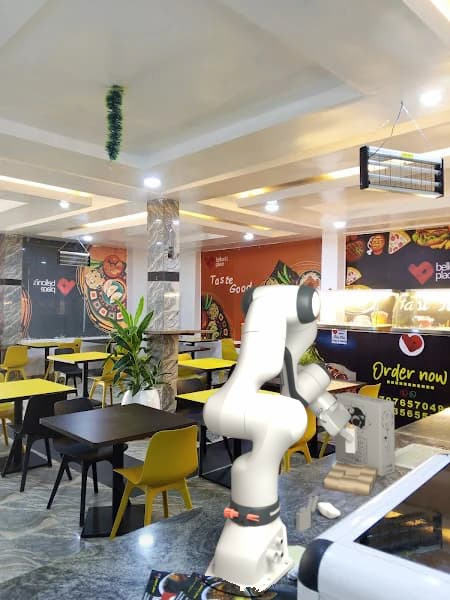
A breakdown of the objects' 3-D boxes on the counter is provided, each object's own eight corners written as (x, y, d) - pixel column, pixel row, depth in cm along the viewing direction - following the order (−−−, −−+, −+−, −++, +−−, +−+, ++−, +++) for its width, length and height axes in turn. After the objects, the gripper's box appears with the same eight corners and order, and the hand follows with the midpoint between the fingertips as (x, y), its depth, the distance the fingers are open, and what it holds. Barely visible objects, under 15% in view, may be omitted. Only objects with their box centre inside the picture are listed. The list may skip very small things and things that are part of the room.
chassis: (369, 496, 146) (369, 486, 146) (324, 488, 152) (324, 479, 152) (377, 476, 162) (377, 467, 162) (336, 470, 169) (336, 462, 169)
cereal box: (395, 472, 166) (394, 401, 166) (380, 476, 162) (379, 404, 162) (349, 455, 184) (348, 391, 184) (335, 459, 180) (334, 394, 180)
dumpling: (313, 516, 133) (313, 502, 133) (323, 510, 137) (323, 496, 137) (334, 524, 128) (334, 509, 128) (344, 518, 132) (344, 503, 132)
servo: (354, 453, 155) (354, 426, 155) (345, 452, 156) (345, 425, 156) (357, 449, 159) (356, 423, 159) (348, 448, 160) (347, 422, 160)
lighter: (300, 531, 124) (299, 501, 124) (295, 529, 126) (295, 499, 126) (319, 524, 128) (318, 494, 129) (314, 521, 130) (313, 492, 130)
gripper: (322, 406, 151) (354, 440, 147) (336, 394, 170) (365, 424, 165) (309, 418, 153) (339, 452, 149) (324, 405, 171) (352, 435, 167)
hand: (353, 437), depth 157 cm, fingers closed on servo, 4 cm apart
